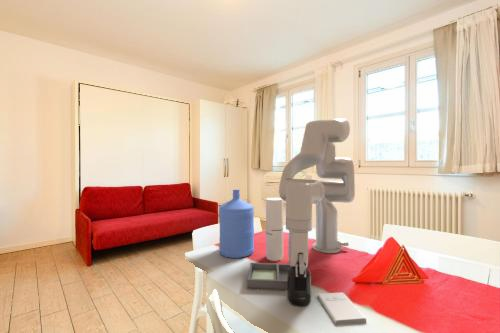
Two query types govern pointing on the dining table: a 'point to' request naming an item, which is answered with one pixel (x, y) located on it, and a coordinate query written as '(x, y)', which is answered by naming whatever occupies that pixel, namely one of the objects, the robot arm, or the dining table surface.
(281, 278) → the sorting tray
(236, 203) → the water jug
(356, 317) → the external hard drive
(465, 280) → the dining table surface
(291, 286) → the supplement bottle
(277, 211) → the cylindrical container
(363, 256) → the dining table surface
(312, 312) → the dining table surface
